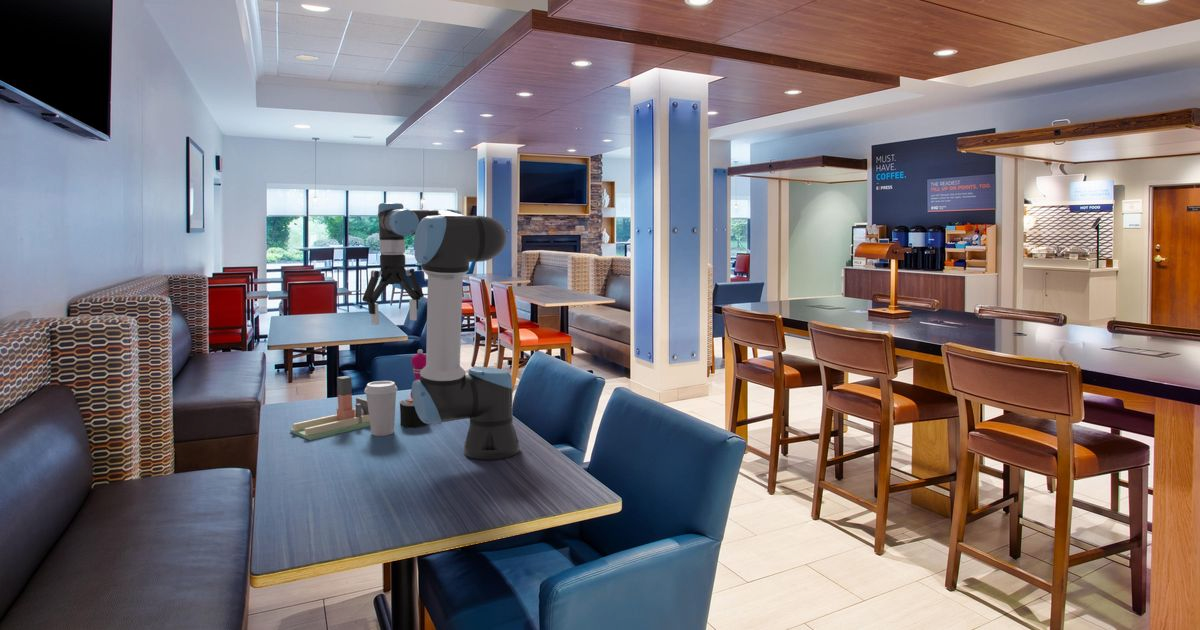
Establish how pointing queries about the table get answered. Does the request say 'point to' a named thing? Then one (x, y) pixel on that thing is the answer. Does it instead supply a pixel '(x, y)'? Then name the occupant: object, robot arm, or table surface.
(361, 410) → the ball
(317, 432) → the pitch
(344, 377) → the black and red block
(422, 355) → the pepper mill
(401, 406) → the sushi
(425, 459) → the table surface
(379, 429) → the coffee cup
